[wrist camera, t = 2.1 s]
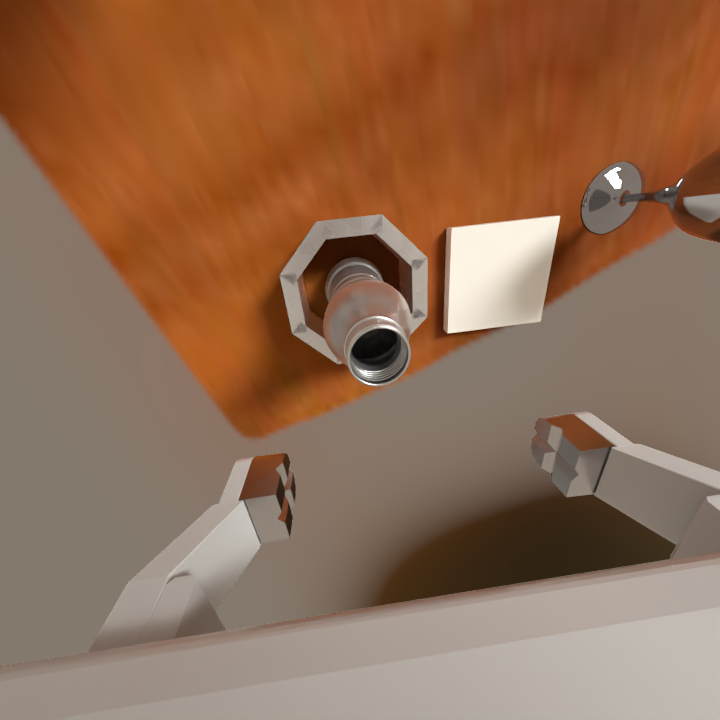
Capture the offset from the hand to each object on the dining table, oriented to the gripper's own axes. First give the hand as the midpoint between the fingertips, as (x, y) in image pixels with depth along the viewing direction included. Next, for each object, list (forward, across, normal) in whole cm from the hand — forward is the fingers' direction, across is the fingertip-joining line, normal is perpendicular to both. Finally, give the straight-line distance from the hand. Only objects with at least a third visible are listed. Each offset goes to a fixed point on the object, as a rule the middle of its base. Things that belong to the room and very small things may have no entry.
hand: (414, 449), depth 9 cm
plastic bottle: (+27, 0, 0) cm, 27 cm away
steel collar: (+27, 0, 0) cm, 27 cm away
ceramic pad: (+27, -17, +1) cm, 32 cm away
